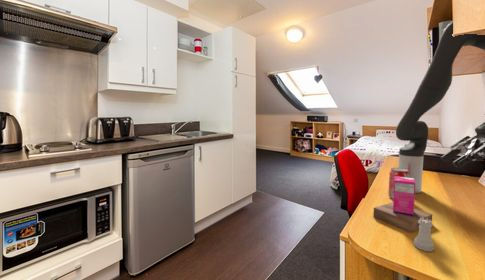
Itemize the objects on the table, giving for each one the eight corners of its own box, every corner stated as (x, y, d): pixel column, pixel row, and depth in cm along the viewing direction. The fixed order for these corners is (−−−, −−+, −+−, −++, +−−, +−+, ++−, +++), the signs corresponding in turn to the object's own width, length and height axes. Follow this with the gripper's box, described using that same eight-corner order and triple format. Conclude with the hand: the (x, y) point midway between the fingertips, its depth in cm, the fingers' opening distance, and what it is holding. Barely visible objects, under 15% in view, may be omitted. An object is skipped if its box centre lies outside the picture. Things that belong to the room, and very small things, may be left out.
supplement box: (392, 206, 80) (394, 175, 79) (412, 210, 76) (415, 178, 75) (392, 212, 75) (394, 179, 74) (414, 216, 72) (416, 182, 70)
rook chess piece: (428, 254, 58) (430, 225, 57) (409, 245, 62) (411, 218, 61) (437, 249, 60) (440, 221, 59) (419, 241, 64) (421, 215, 63)
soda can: (405, 202, 91) (407, 172, 90) (385, 198, 97) (387, 169, 95) (410, 198, 96) (412, 169, 95) (390, 194, 101) (392, 166, 100)
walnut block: (394, 211, 84) (394, 201, 84) (431, 225, 74) (432, 214, 73) (373, 218, 80) (373, 207, 79) (409, 234, 69) (410, 222, 68)
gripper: (478, 117, 71) (430, 150, 77) (508, 118, 58) (448, 158, 64) (499, 134, 70) (448, 166, 76) (535, 139, 57) (471, 177, 63)
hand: (448, 162), depth 70 cm, fingers open, 8 cm apart
